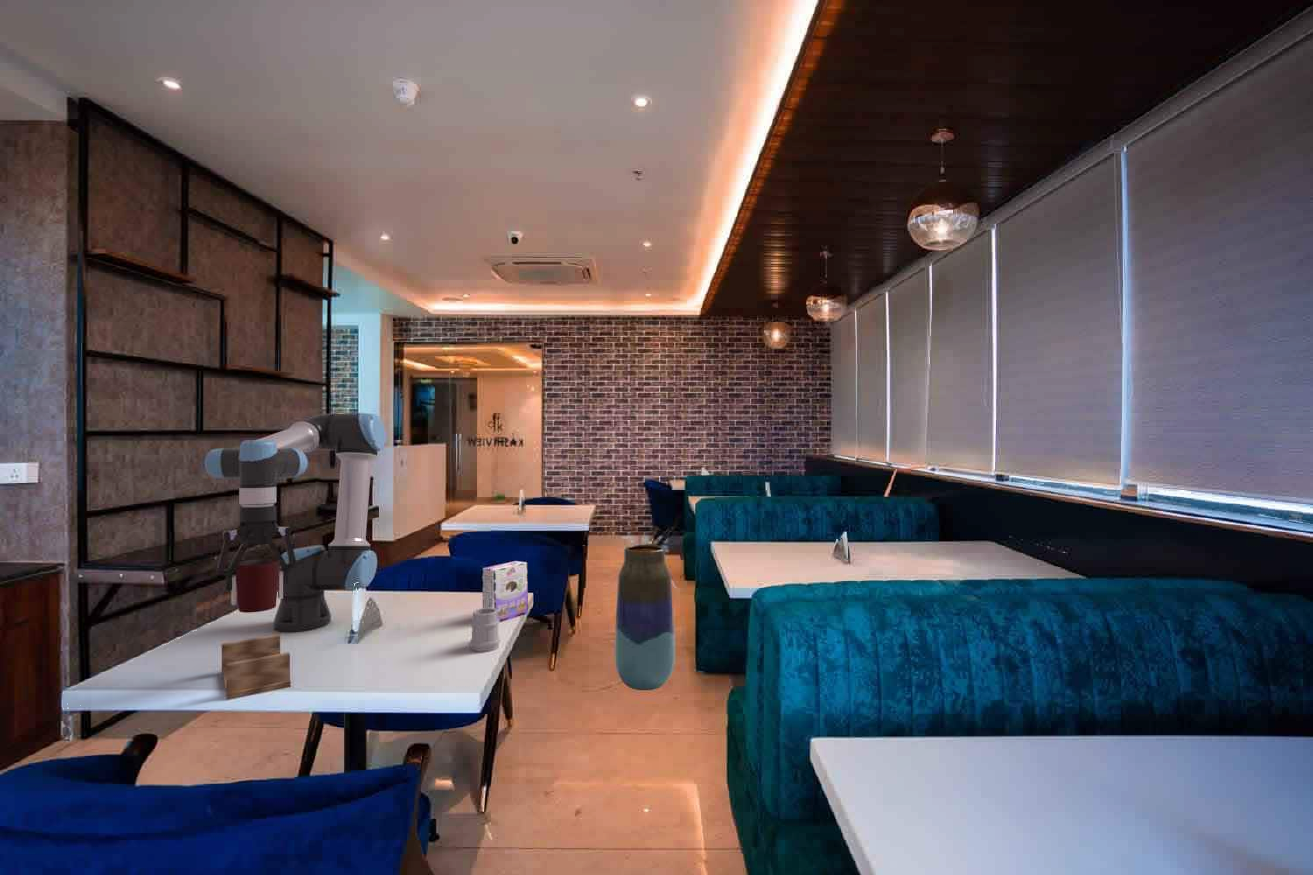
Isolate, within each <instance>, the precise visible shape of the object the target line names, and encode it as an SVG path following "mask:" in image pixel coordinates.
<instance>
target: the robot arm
mask: <svg viewBox="0 0 1313 875" xmlns="http://www.w3.org/2000/svg"><path fill="white" fill-rule="evenodd" d="M386 432H387V431H386V428H385V425H384V422H383V420H382V418H380V416H379V415H377V414H374V413H367V412H365V413H364V412H354V413H353V412H349V413H347V412H346V413H345V412H344V413H341V412H340V413H336V412H335V413H334V412H332V413H331V412H330V413H324V414H318V415H316V416H312V417H308V418H305V419H303V420H300V421H297V422H294V423H293V424H291V425H290V427H288V428H287V429H284V430H282V431H279V432H275V433H273V434H270V435H267V436H264V437H262V438H261V437H260V438H259V439H258V438H257V439H256V440H243V441H242V442H240V444H239V445H237V446H234V447H230V448H225V447H222V448H214V449H212V450H211V449H210V451H209V452H208V453H207V454H206V456H205V460H204V465H205V471H206V473H207V474H208V475H209V476H210V477H212V478H214V479H215V478H216V479H223V480H226V479H239V490H238V492H239V496H238V499H239V500H238V504H239V505H240V507H239V509H238V517H239V518H238V526H237V528H236V529H233V530H224V531H223V532H222V535H223V536H222V537H223V543H222V548H221V552H220V554H219V555H220V556H219V559H218V563H217V567H216V574H217V575H218V576H224V577H225V589H226V591H227V592H228V591H231V592H230V593H231V597H230V598H231V599H230V600H231V606H237V588H236V576H235V574H234V573H235V564H236V565H238V564H239V562H241V560H242V559H243V557H244V555H245V553H246V551H247V549H248V548H249V546H257V545H263V546H264V545H267V546H268V547H269V550H270V551H271V552H272V555H273V556H274V559H277V561H278V560H279V578H278V590H277V599H278V600H280V601H279V604H278V607H277V611H276V614H275V616H274V619H273V629H274V630H276V631H277V632H284V633H285V632H288V633H289V632H290V633H292V632H304V631H309V630H314V629H318V628H320V627H321V628H322V627H324V626H327V625H329V624H330V623H331V622H332V614H331V611H330V608H329V605H328V603H327V600H326V598H325V591H347V592H351V591H359V590H358V589H359V588H362V590H364V589H366V588H367V587H368V586H369V585H371V582H372V581H373V579H374V577H375V575H376V571H377V569H378V568H377V567H378V558H377V557H378V556H377V553H375V551H373V550H371V544H370V543H369V541H367V539H366V538H367V537H366V536H367V524H368V513H369V512H368V511H369V498H370V485H371V474H372V473H371V471H372V462H373V461H375V460H376V459H377V458H378V452H380V451H382V450H383V449H384V448H385V446H386V445H387V444H386V443H387V433H386ZM313 451H335V452H336V453H335V455H336V457H338V459H339V460H340V468H339V470H340V471H339V480H338V481H339V483H338V492H337V493H338V494H337V503H336V504H337V505H336V515H335V517H336V518H335V529H334V539H333V540H332V541H331V542H330V543H328V545H327V550H325V549H326V548H325V546H324V545H320V544H319V545H318V544H317V545H310V546H304V547H299V548H294V547H293V543H292V539H291V535H292V528H291V527H289V526H288V525H287V526H279V525H278V524H277V506H276V505H275V504H276V503H277V479H293V478H296V477H300V476H301V475H303V474H304V473H305V472H306V470H307V468H308V464H309V462H308V457H307V455H306V454H305V453H307V454H308V453H311V452H313ZM278 532H279V534H280V535H281V537H283V541H284V546H285V549H286V551H285V552H283V553H282V554H281V552H280V550H279V549H278V547H277V546H276V543H275V542H274V540H273V538H274V537H275V536H276V534H277V533H278ZM236 535H238V536H239V537H240V539H241V540H242V541H241V543H240V545H239V548H238V549H237V551H236V553H235V555H234V557H233V559H232V560H231V562H230V564H229V566H228V568H227V569H226V568H225V567H226V563H227V560H228V555H229V553H230V552H229V551H230V548H231V543H232V541H233V540H234V539H235V536H236ZM356 582H359V583H356ZM354 583H356V584H355V586H354ZM356 588H357V590H356Z"/></svg>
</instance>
